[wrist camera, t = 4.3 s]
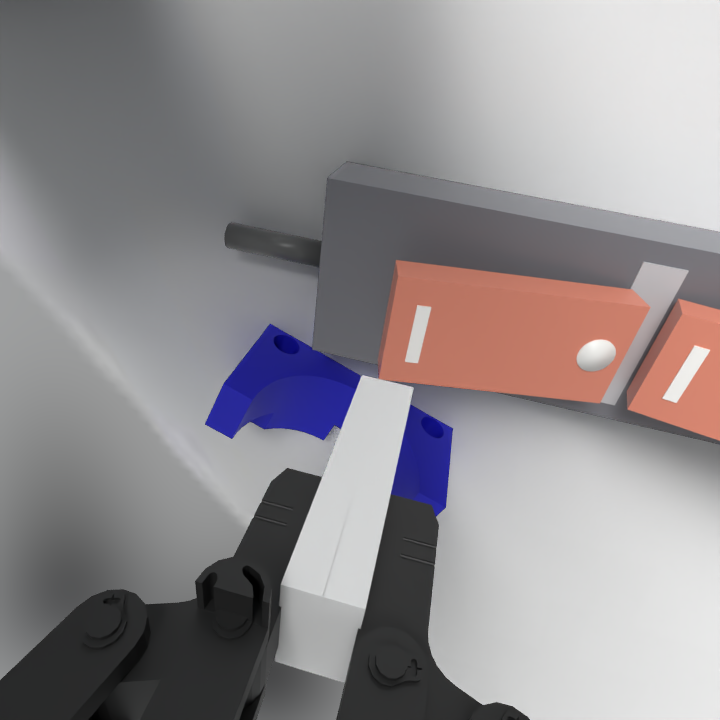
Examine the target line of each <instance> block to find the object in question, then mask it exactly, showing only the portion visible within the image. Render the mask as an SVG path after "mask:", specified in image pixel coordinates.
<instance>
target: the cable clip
mask: <svg viewBox="0 0 720 720" xmlns="http://www.w3.org/2000/svg"><path fill="white" fill-rule="evenodd" d="M360 379H361V376H360V375H358V374H357V373H355V372H353V371H352V370H350V369H348V368H346V367H345V366H343V365H341V364H339V363H338V362H336V361H334V360H332V359H331V358H329V357H327V356H325V355H324V354H322V353H320V352H318V351H316V350H312V347H310V346H308V345H306V344H305V343H303V342H301V341H299V340H298V339H296V338H294V337H292V336H291V335H289V334H287V333H285V332H284V331H282V330H280V329H279V328H277V327H275V326H273V325H272V324H270V325H269V326H268V327H267V329H266V330H265V331H264V332H263V334H262V335H261V336H260V338H259V339H258V340H257V341H256V343H255V344H254V345H253V347H252V348H251V349H250V350H249V352H248V353H247V354H246V356H245V357H244V358H243V359H242V361H241V362H240V363H239V365H238V366H237V367H236V368H235V370H234V371H233V372H232V374H231V375H230V376H229V377H228V379H227V380H226V381H225V383H224V384H223V386H222V388H221V390H220V393H219V395H218V397H217V399H216V401H215V403H214V406H213V408H212V410H211V412H210V414H209V416H208V419H207V421H206V423H205V425H207V426H209V427H211V428H213V429H215V430H216V431H218V432H220V433H222V434H224V435H226V436H228V437H229V438H231V439H232V438H233V437H234V436H235V434H236V433H237V432H238V431H239V430H240V429H241V428H242V427H243V426H244V425H246V424H247V423H248V422H252V423H254V424H256V425H257V426H259V427H261V428H263V429H272V428H285V429H293V430H298V431H302V432H305V433H308V434H311V435H313V436H316V437H318V438H320V439H322V440H324V439H325V438H326V436H327V435H328V433H329V432H330V430H331V429H332V428H333V426H334V425H335V426H337V427H339V428H340V429H341V428H342V425H343V422H344V420H345V417H346V415H347V412H348V410H349V407H350V404H351V402H352V399H353V397H354V394H355V392H356V389H357V386H358V384H359V381H360ZM452 430H453V429H452V428H451V427H449V426H447V425H445V424H444V423H442V422H440V421H438V420H437V419H435V418H433V417H431V416H430V415H428V414H426V413H424V412H423V411H421V410H419V409H418V408H416V407H414V406H412V405H411V404H410V407H409V412H408V417H407V421H406V426H405V430H404V435H403V440H402V444H401V449H400V453H399V458H398V463H397V467H396V472H395V476H394V481H393V485H392V490H391V494H392V495H396V496H400V497H404V498H407V499H411V500H415V501H419V502H423V503H426V504H430V505H432V507H433V510H434V513H435V516H437V515H438V514H439V513H440V512H441V511H442V510H444V509H445V508H446V500H447V488H448V477H449V465H450V453H451V442H452Z"/></svg>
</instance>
